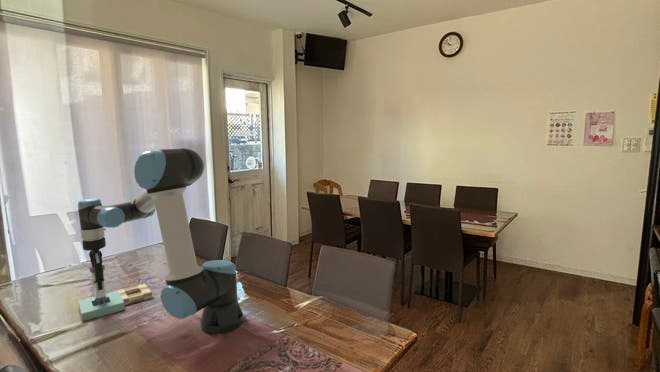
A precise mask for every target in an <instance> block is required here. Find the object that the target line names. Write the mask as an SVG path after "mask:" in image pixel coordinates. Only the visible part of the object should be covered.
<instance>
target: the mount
mask: <svg viewBox="0 0 660 372" xmlns="http://www.w3.org/2000/svg"><path fill="white" fill-rule="evenodd" d="M116 291H118V292H119V293H120V295H121V297H122V299H123V301H124V306H127V305H131V304H134V303H138V302H141V301H145V300H149V299H152V298H153V292H152V291H151V289H150V288H149V286H148V285H147V283H141V284H137V285H133V286H129V287H125V288H120V289H117V290H116Z"/></svg>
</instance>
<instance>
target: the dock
mask: <svg viewBox="0 0 660 372" xmlns="http://www.w3.org/2000/svg"><path fill="white" fill-rule="evenodd" d="M106 296H107V303H105V304H101V305H97V306H96V305H95V297H94V296H92V297H91V296H90V297H87V298H83V299H79V300H78V307H79V312H80V317H81V320H82V322H85V321H88V320H92V319H96V318H100V317H103V316H106V315H110V314H113V313H118V312H120V311H124V310H125V306H126V305H124V301H123V299H122V297H121V295H120V293H119V292H118V291H117V290H114V291H111V292H108V293H107V292H106Z"/></svg>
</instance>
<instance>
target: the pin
mask: <svg viewBox="0 0 660 372" xmlns="http://www.w3.org/2000/svg"><path fill="white" fill-rule="evenodd" d="M102 269H103V278H104V290H105V297H101V298H97V294H96V286H95V283H93V282H94V281H95V273H94V267H92V266H90V267H89V273H91V278H92V288H93V297H95V305H96V306H97V305H101V304H105V303H107V296H106V294H107V290H106V289H107V288H106V282H105V281H106V280H105V272H104V270H106V267H105V265H104V264H102Z"/></svg>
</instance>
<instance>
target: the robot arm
mask: <svg viewBox="0 0 660 372" xmlns="http://www.w3.org/2000/svg"><path fill="white" fill-rule="evenodd" d="M204 165H205V164H204V160H203V158H202V157H201V155H200V154H199V153H197V152H196V151H195V150H193V149H190V148H185V147H184V148H182V147H181V148H166V149H163V148H162V149H161V148H160V149H152V150H146V151H144V152H142V153H141V154H140V155H139V156H138V157H137V160H136V161H135V164H134V170H133V172H134V179H135V181H136V184H138V186H139V187H140V188H141V189H144V190H145V191H144V192H143V193H142V194H140V195H139V196H138V197H137V198H135V199H134V200H132V201H128V202H122V203H117V204H111V205H103V204H102V200H101V199H100V198H95V197H94V198H87V199H86V198H85V199H81V200H79V201H78V202H77V206H78V207H77V212H78V219H79V224H80V236H81V240H82V241H81V243H82V249H83V250H84V251H87V252H89V253H88V256H89V260H90V263H91V267H94V273H95V281H94V282H93V281H92V284H93V283H95V286H96V294H97V298H101V297H105V290H104V278H105V277H104V278H103V269H102V265H103V252H102V251H101V249H103V248H105V247H106V246H107V245H106V244H107V241H106V237H105V231H106V228H111V229H112V228H117V227H119V226H120V225H122V224H124V223H128V222H133V221H137V220H141V219H147V218H148V217H152V216H154V215H155V211H156V217H157V220H158V225H159V229H160V234H161V239H162V244H163V248H164V253H165V258H166V262H167V267H168V274H167V275H166V276H165V283H166V284H165V286H164V287H163V288H162V289H161V292H160V301H161V303H162V304H161V305H162V306H163V308H164V309H165V311H166V313H168V314H169V315H170V316H172V317H173V318H175V319H178V320H179V319H180V320H181V319H182V320H183V319H186V318H187V317H190V316H193V315H195V314H196V313H198V312H199V311H202V313H201V317H200V329H201V330H202V331H203V332H205V333H208V334H224V333H228V332H230V331H231V332H232V331H234V330H236V329H237V328H238V327H240V326H241V325H242V324H243V323H244V311H243V310H242V307H241V305H240V302H239V300H238V287H237V286H238V283H237V271H236V270H237V268H236V265H235V263H234V262H232V261H230V260H226V259H225V260H224V259H217V260H215V259H214V260H213V259H212V260H209V261H205V262H203V263H202V264H201V266H200V265H198V262H197V257H196V253H195V248H194V243H193V238H192V233H191V229H190V224H189V218H188V213H187V209H186V205H185V198H184V195H183V194H184V193H185V191H186V190H187V187H189V186H192V185H193V184H194V183H196V182H197V181H198V180H199V179H200V178H201V177H202V175H203V173H204V169H205V166H204Z"/></svg>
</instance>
